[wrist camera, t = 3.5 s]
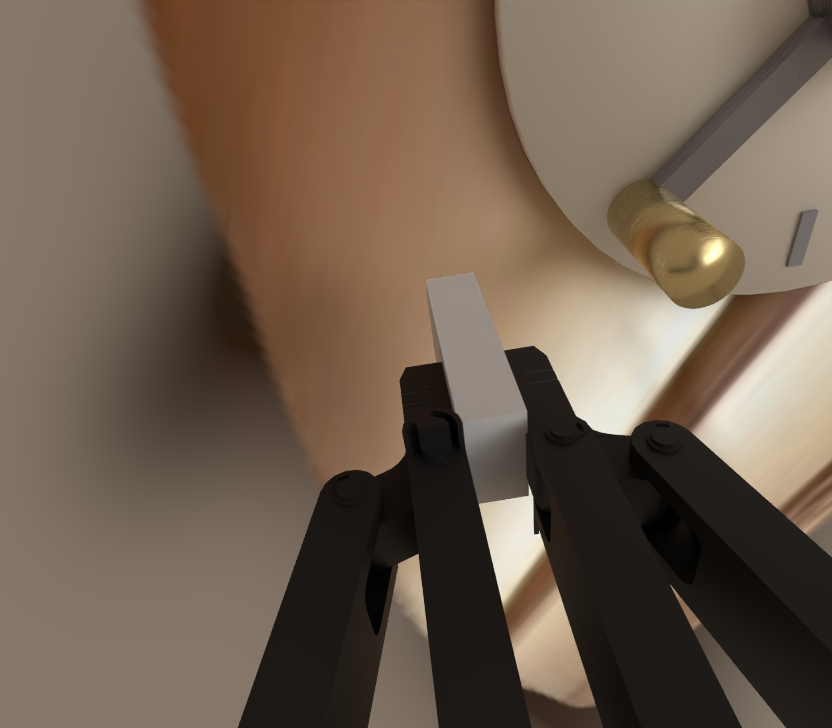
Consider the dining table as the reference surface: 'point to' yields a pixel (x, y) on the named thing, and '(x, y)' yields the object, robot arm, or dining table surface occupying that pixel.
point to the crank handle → (697, 160)
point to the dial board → (672, 120)
